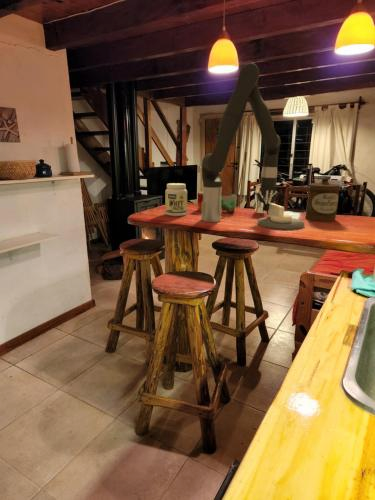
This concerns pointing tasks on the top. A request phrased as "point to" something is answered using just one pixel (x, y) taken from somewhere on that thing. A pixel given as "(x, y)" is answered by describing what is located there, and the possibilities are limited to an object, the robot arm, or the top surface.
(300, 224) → the dial base
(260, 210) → the beer glass
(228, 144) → the robot arm
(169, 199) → the supplement tub
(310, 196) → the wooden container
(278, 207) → the dial lever
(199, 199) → the canned food
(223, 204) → the food container
